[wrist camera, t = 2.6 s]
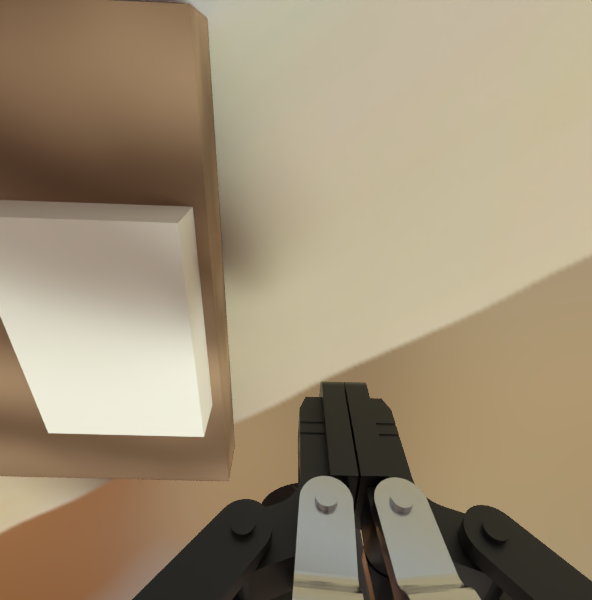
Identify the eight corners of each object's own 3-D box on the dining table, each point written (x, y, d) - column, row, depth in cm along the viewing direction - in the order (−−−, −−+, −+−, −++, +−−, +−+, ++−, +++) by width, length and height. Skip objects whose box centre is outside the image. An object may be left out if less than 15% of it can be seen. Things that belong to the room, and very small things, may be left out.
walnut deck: (-200, 0, 13) (-301, -18, 11) (207, 18, 13) (189, 4, 11) (12, 440, 24) (-17, 475, 21) (234, 445, 24) (228, 481, 22)
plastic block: (1, 200, 14) (-41, 215, 12) (192, 206, 14) (177, 223, 12) (71, 401, 19) (48, 433, 17) (212, 404, 19) (203, 436, 17)
